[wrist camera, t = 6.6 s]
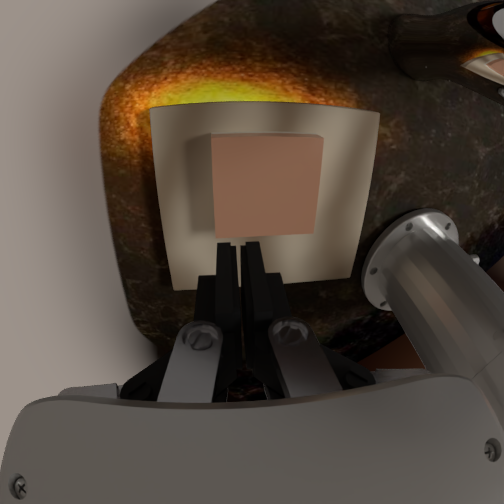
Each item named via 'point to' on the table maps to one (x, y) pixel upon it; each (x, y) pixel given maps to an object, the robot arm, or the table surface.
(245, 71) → the table surface
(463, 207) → the table surface
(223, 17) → the table surface
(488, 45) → the beer glass
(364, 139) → the board
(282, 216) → the tile
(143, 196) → the table surface
